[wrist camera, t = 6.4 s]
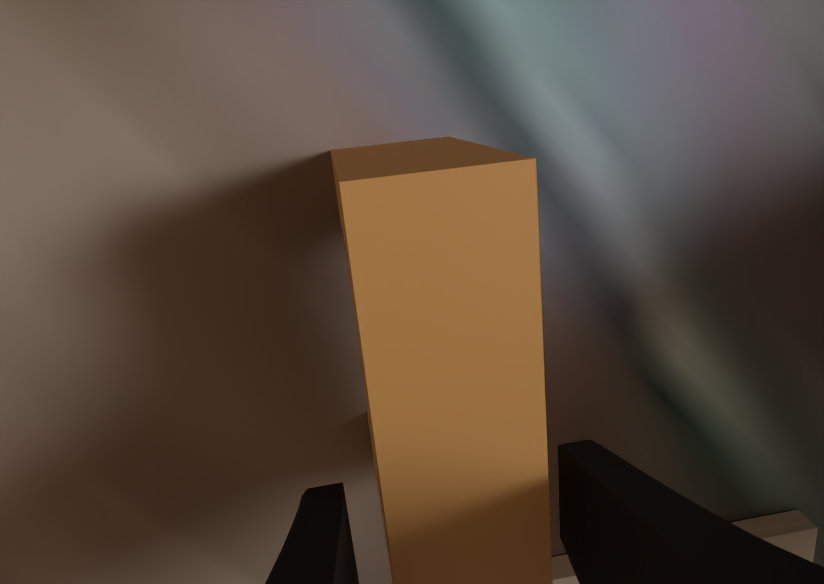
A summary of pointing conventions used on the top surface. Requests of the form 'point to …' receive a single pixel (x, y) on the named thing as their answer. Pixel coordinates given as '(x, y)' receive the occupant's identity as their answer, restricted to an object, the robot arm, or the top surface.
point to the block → (451, 355)
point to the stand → (776, 529)
